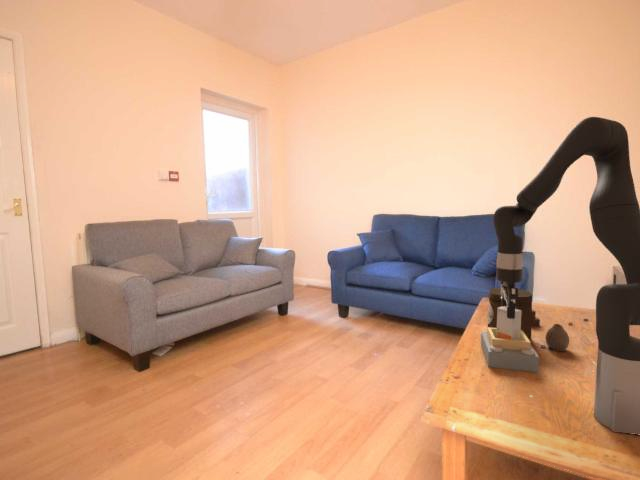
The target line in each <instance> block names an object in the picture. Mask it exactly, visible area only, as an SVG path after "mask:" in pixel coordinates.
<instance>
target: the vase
mask: <svg viewBox="0 0 640 480" xmlns="http://www.w3.org/2000/svg"><path fill="white" fill-rule="evenodd" d="M545 342H546V345H547V346H548V347H549V348H550V349H551V350H553V351H556V352H563V351H565V350H567V348H568V347H569V344H570V337H569V334H568V333H567V331H566V330H565V328H564V327H563V325H562V324H559V323H554V324H553V325H552V327H550V328H549V329H548V330H547V332H546V333H545Z"/></svg>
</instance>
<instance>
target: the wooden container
mask: <svg viewBox="0 0 640 480" xmlns="http://www.w3.org/2000/svg"><path fill="white" fill-rule="evenodd" d="M516 286H517V285H516V284H515V287H516ZM500 288H501V286H498V287H492V288H489V289H488V310H487V327H490V328H497V308H498V307H502V299H501V296H500ZM511 303H513V301H511ZM515 309H518V310H521V311H522V312H521V330H523V332H524V333H525V335H526V336H527V338H528V339H529V341H530V342H531V343H532V327H533V326H532V310H533V293H532V292H530V291H528V290H524V289H520V288H518V307H516V308H515Z"/></svg>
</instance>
